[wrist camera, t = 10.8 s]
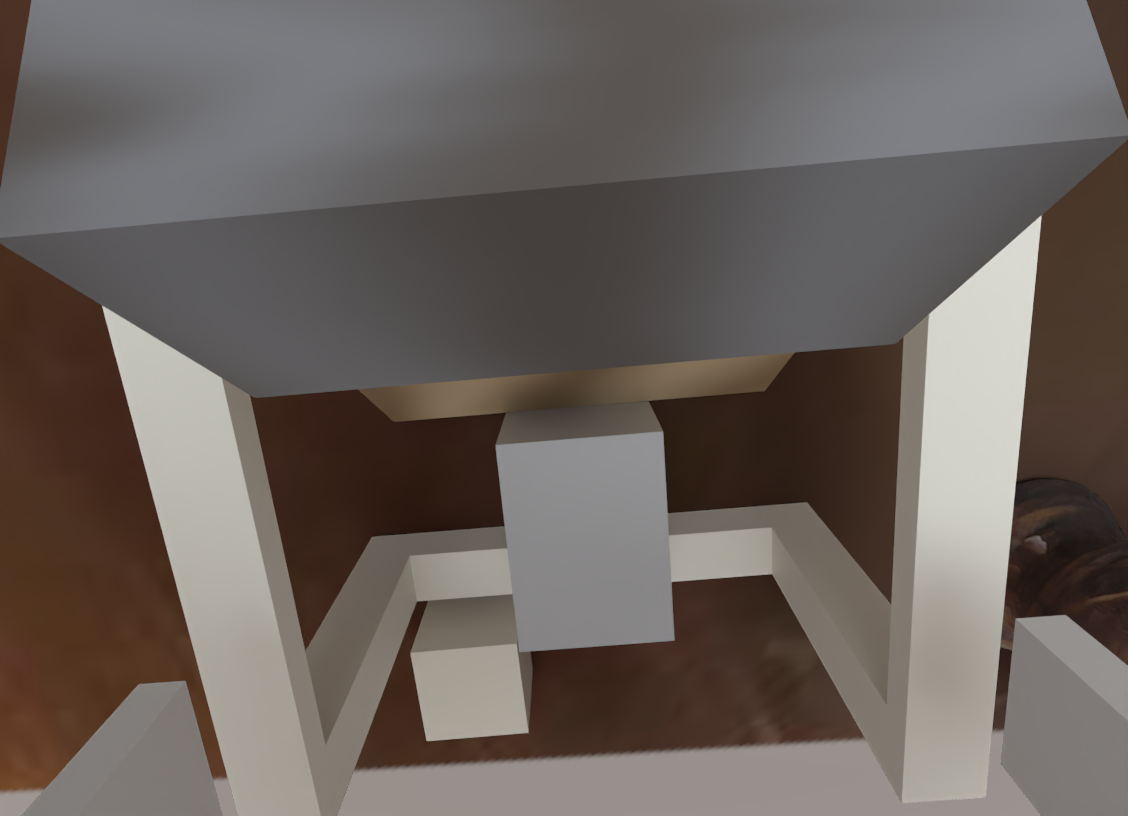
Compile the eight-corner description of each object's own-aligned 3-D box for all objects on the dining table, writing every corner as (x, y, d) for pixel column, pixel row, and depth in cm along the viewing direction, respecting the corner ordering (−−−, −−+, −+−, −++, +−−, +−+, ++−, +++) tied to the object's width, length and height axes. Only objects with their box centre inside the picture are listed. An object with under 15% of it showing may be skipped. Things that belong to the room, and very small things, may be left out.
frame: (379, 579, 30) (246, 847, 17) (309, 185, 25) (64, 163, 13) (806, 546, 29) (985, 797, 17) (810, 139, 25) (1055, 71, 13)
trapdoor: (393, 400, 25) (394, 512, 24) (-91, -89, 7) (-171, 252, 6) (760, 369, 25) (778, 482, 24) (1167, -218, 7) (1311, 118, 6)
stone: (495, 445, 21) (519, 652, 23) (663, 431, 21) (674, 640, 23) (508, 404, 26) (527, 577, 28) (644, 393, 26) (655, 568, 27)
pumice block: (443, 675, 31) (426, 741, 27) (429, 595, 30) (410, 652, 26) (532, 667, 31) (528, 732, 27) (522, 587, 30) (516, 643, 26)
